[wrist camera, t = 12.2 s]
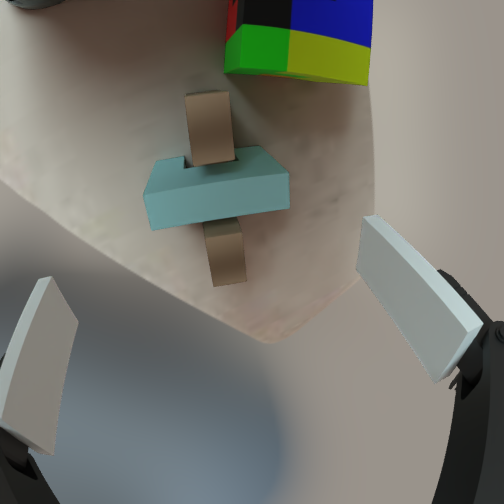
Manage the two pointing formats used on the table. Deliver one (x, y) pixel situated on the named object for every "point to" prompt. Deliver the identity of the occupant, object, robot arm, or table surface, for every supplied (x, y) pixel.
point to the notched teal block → (215, 189)
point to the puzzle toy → (300, 39)
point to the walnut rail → (207, 153)
